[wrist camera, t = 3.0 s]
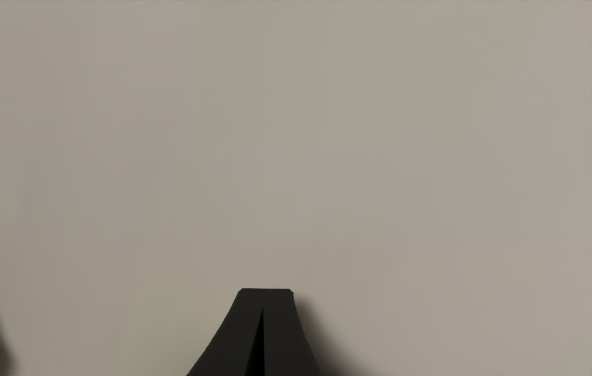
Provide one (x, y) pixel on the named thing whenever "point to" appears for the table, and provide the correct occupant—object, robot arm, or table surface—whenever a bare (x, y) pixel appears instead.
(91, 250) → the table surface
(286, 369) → the robot arm
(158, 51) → the table surface
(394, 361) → the table surface
